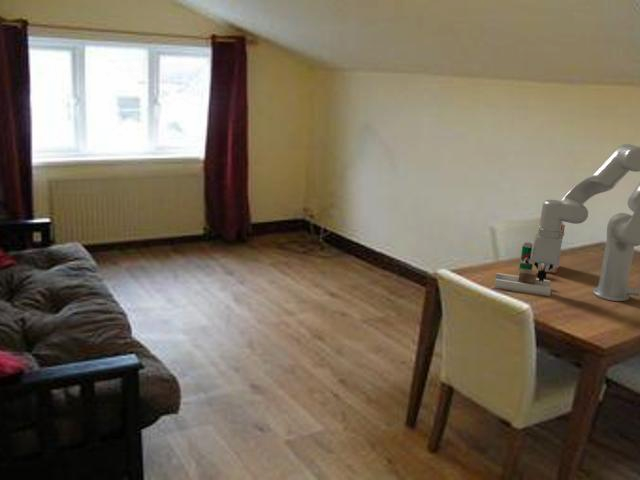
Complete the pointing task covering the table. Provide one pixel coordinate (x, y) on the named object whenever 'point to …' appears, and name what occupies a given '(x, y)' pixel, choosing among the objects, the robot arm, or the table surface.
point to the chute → (522, 285)
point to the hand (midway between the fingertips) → (541, 280)
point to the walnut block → (527, 276)
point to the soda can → (526, 256)
